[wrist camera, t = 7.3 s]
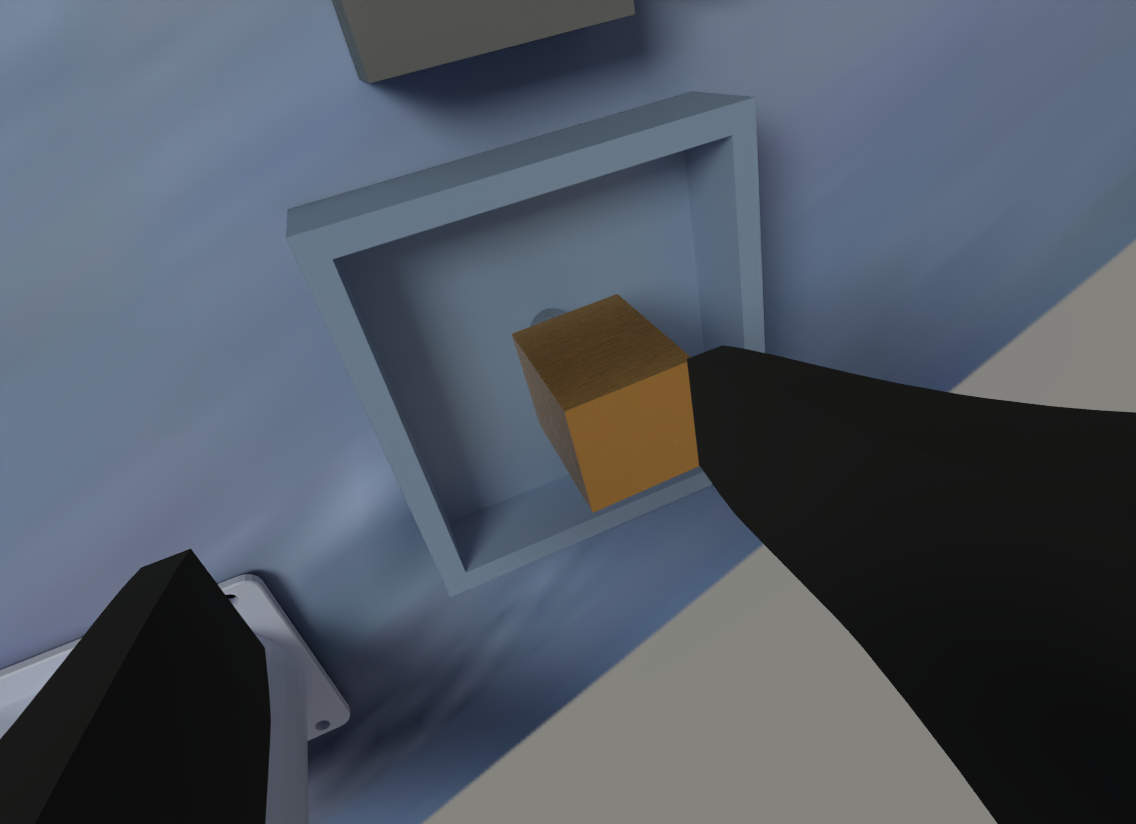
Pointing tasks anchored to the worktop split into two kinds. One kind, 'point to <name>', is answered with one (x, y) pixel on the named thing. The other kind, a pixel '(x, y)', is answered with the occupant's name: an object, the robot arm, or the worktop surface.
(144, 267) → the worktop surface
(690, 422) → the orange rectangular block
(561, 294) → the tray
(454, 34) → the block
